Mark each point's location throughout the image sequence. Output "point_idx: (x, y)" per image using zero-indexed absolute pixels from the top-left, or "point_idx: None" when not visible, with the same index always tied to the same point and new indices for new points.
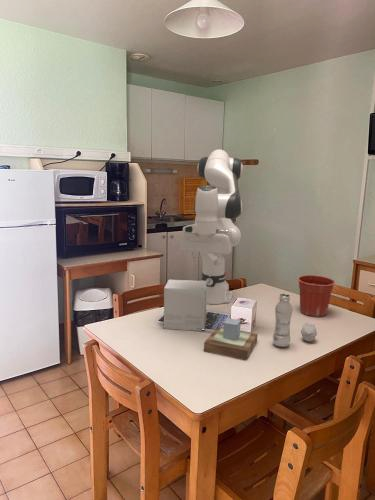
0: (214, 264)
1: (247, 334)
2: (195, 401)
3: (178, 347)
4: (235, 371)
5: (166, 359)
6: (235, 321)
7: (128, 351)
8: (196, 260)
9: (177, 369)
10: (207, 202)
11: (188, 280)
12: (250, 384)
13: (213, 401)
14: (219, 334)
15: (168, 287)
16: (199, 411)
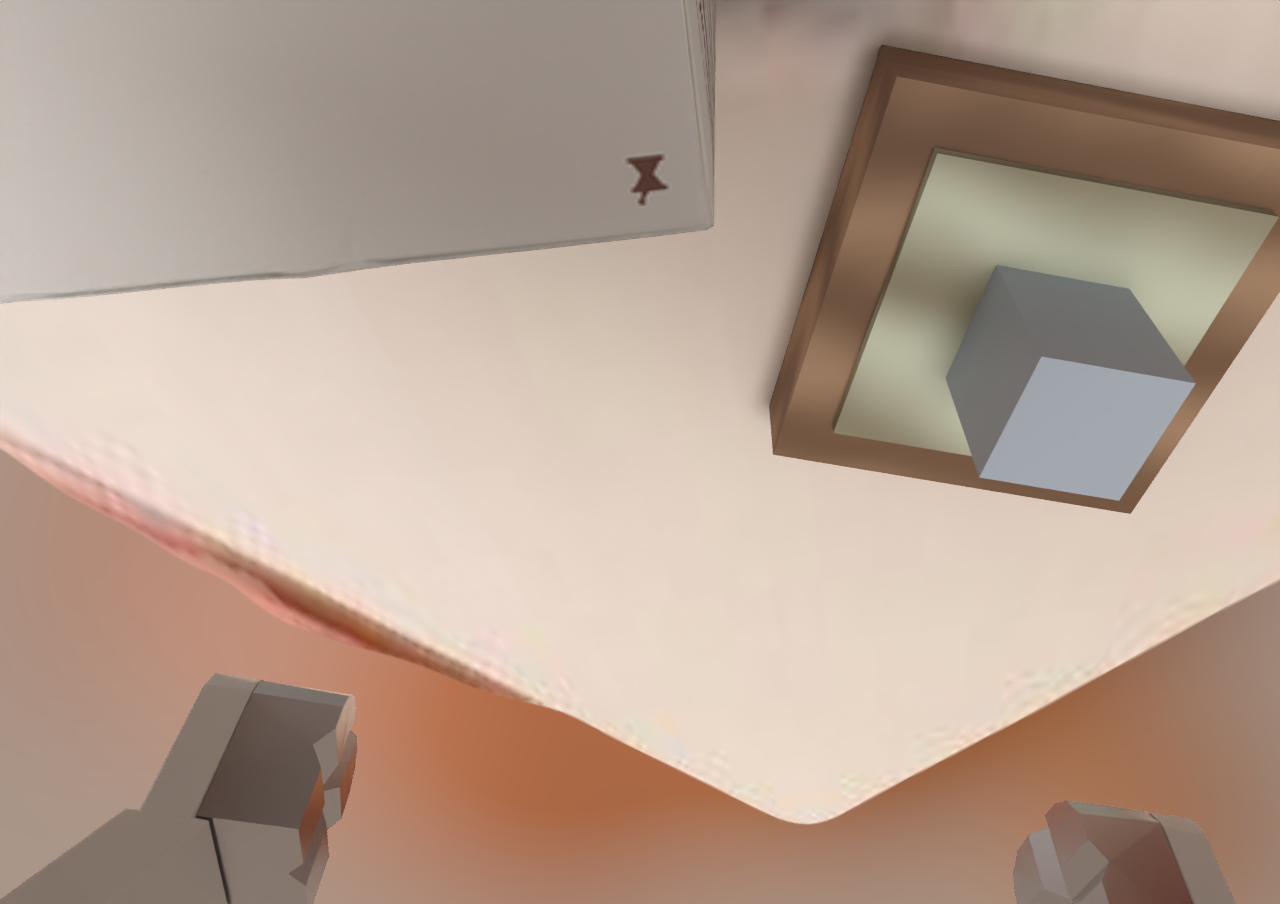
0: (1022, 864)
1: (1222, 255)
2: (787, 787)
3: (558, 392)
4: (997, 587)
5: (538, 547)
6: (1121, 426)
7: (250, 508)
8: (338, 717)
9: (641, 621)
10: None
11: None
12: (1067, 671)
13: (866, 780)
14: (911, 320)
15: (6, 254)
16: (811, 823)
